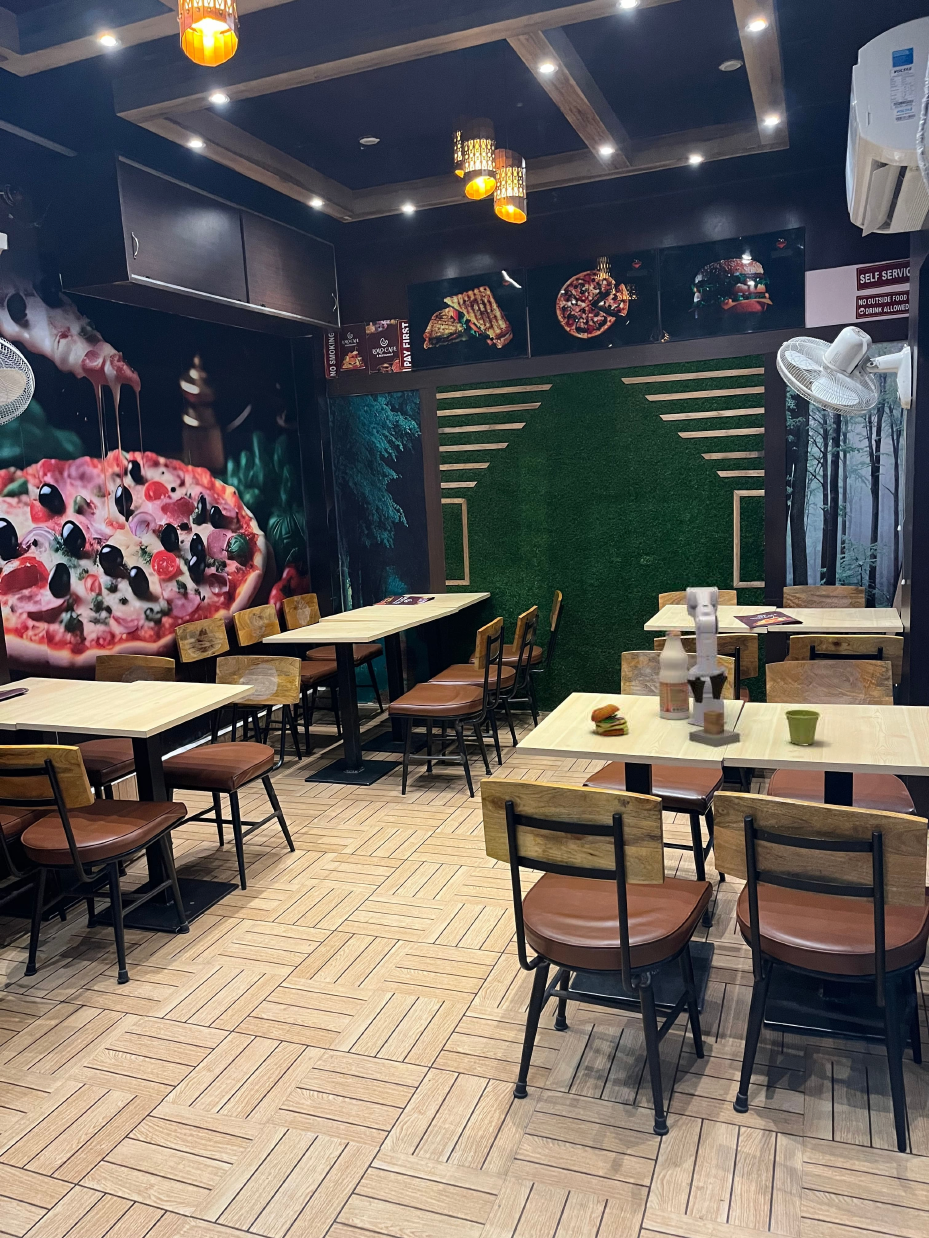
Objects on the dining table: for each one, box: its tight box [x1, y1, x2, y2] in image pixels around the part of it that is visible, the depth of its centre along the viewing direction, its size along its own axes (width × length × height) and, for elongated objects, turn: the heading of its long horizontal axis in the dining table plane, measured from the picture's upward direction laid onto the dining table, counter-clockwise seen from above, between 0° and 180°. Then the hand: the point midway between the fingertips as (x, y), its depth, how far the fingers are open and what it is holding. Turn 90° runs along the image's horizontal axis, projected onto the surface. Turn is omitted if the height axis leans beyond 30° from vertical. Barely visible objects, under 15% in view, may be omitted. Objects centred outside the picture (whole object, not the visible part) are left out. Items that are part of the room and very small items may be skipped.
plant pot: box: [784, 709, 821, 745], centre depth 254 cm, size 9×9×9 cm
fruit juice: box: [658, 630, 690, 721], centre depth 291 cm, size 9×9×28 cm
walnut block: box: [703, 710, 725, 735], centre depth 261 cm, size 4×4×6 cm
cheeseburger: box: [590, 703, 629, 737], centre depth 275 cm, size 10×11×10 cm
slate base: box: [688, 728, 741, 748], centre depth 261 cm, size 10×10×3 cm
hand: (707, 700), depth 267 cm, fingers open, 7 cm apart
